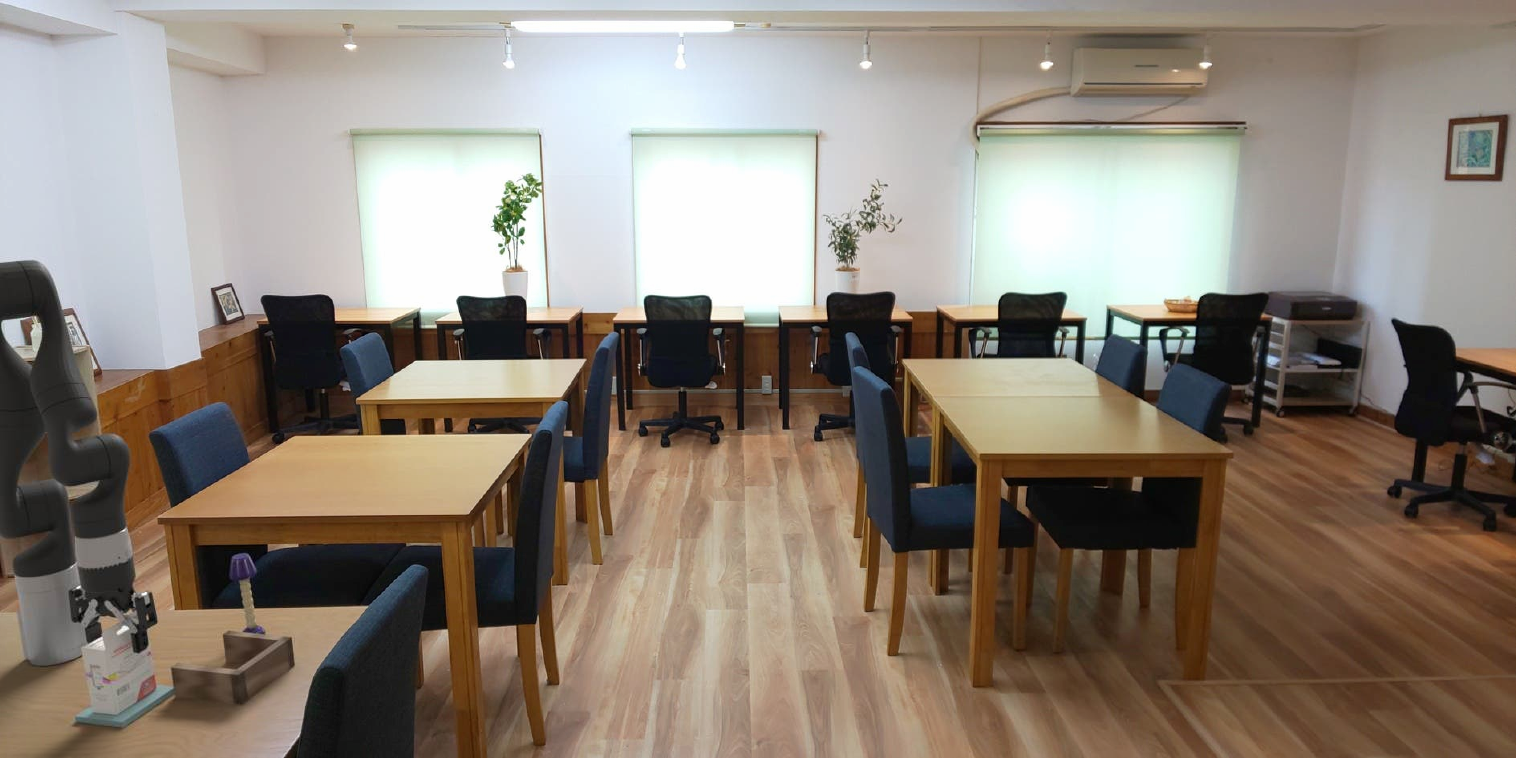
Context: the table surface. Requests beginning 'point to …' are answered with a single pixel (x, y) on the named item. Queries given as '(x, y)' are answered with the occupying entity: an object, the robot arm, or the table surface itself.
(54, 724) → the table surface
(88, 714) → the teal coaster
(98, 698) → the ink cartridge box
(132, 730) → the table surface
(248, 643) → the walnut cubby
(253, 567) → the toy lamp
